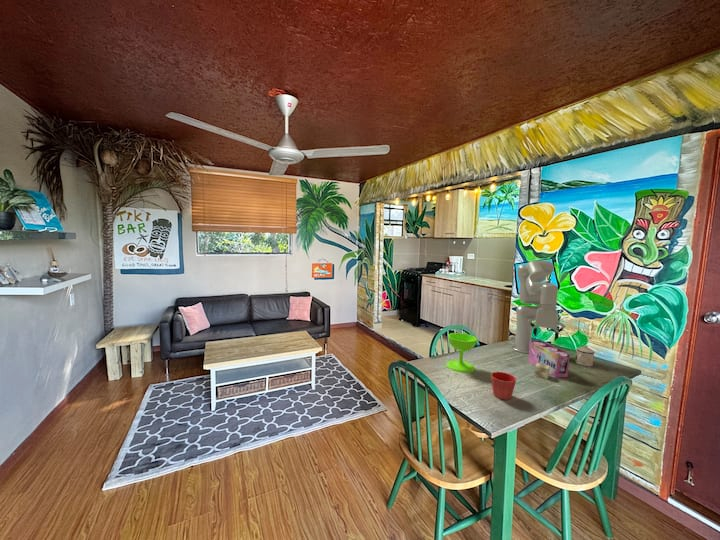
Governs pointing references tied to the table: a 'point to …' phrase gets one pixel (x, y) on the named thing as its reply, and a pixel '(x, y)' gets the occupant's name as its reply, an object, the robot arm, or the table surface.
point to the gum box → (549, 358)
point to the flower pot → (503, 385)
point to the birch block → (542, 370)
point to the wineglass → (461, 351)
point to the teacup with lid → (584, 356)
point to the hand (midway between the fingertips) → (545, 337)
